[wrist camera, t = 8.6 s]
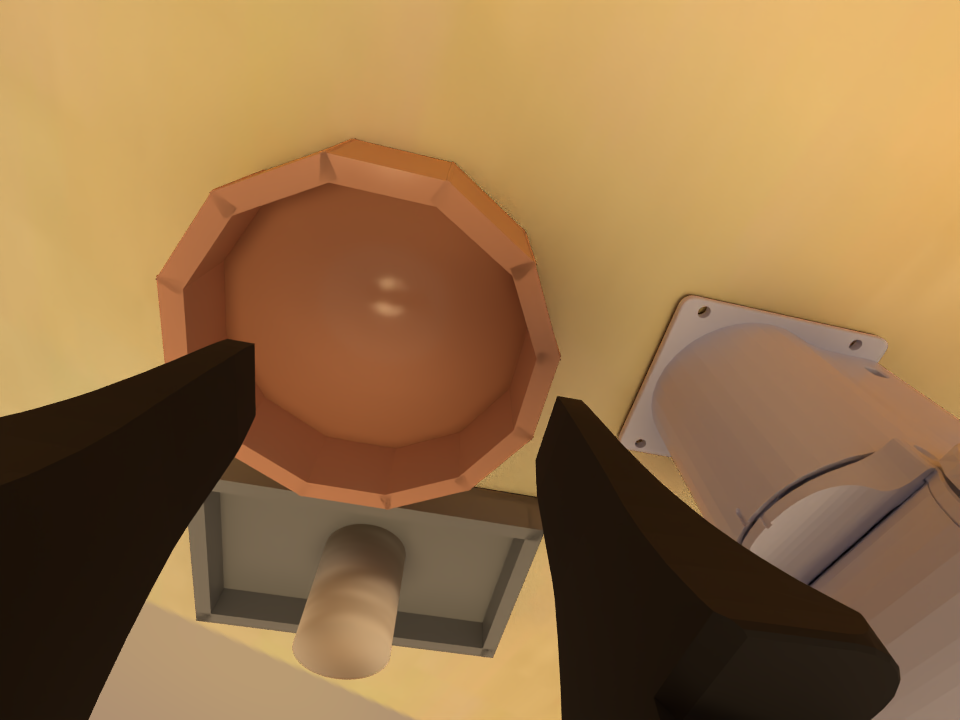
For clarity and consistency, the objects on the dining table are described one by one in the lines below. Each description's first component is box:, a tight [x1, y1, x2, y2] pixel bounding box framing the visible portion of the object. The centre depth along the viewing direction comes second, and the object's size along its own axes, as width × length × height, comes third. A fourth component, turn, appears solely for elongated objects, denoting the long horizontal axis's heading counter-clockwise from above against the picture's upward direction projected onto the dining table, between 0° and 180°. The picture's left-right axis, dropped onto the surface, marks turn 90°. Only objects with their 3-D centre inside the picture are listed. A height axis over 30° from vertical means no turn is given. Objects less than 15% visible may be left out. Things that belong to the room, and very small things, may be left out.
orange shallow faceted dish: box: [156, 138, 561, 510], centre depth 19 cm, size 14×14×4 cm
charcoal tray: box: [188, 457, 544, 658], centre depth 27 cm, size 17×11×2 cm, turn 77°
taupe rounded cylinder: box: [292, 524, 406, 679], centre depth 25 cm, size 4×4×6 cm
